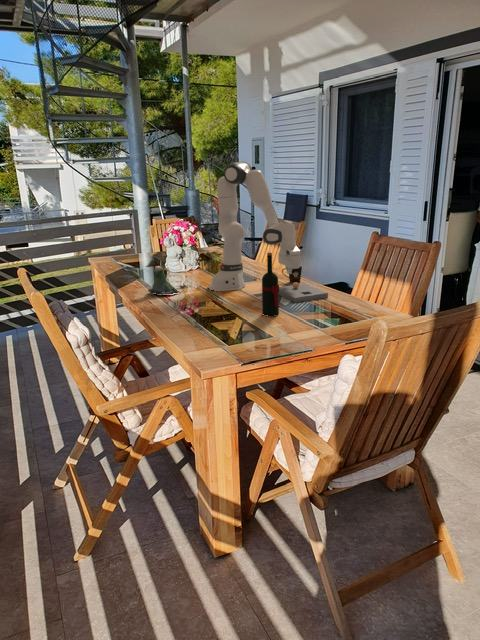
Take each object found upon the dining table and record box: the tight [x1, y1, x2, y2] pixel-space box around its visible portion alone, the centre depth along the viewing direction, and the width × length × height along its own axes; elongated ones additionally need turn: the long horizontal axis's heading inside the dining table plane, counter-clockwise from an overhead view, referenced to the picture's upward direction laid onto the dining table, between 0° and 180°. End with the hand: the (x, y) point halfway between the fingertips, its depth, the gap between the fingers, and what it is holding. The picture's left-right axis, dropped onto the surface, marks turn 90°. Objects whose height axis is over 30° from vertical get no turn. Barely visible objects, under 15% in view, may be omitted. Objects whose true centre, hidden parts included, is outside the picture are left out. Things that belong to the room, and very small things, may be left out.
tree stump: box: [147, 266, 179, 294], centre depth 278 cm, size 18×20×18 cm
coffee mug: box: [281, 264, 303, 284], centre depth 294 cm, size 12×9×10 cm
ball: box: [292, 282, 300, 288], centre depth 269 cm, size 4×4×4 cm
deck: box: [278, 283, 329, 303], centre depth 265 cm, size 20×25×2 cm
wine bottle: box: [261, 252, 280, 317], centre depth 227 cm, size 8×10×30 cm
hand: (289, 273), depth 275 cm, fingers closed
